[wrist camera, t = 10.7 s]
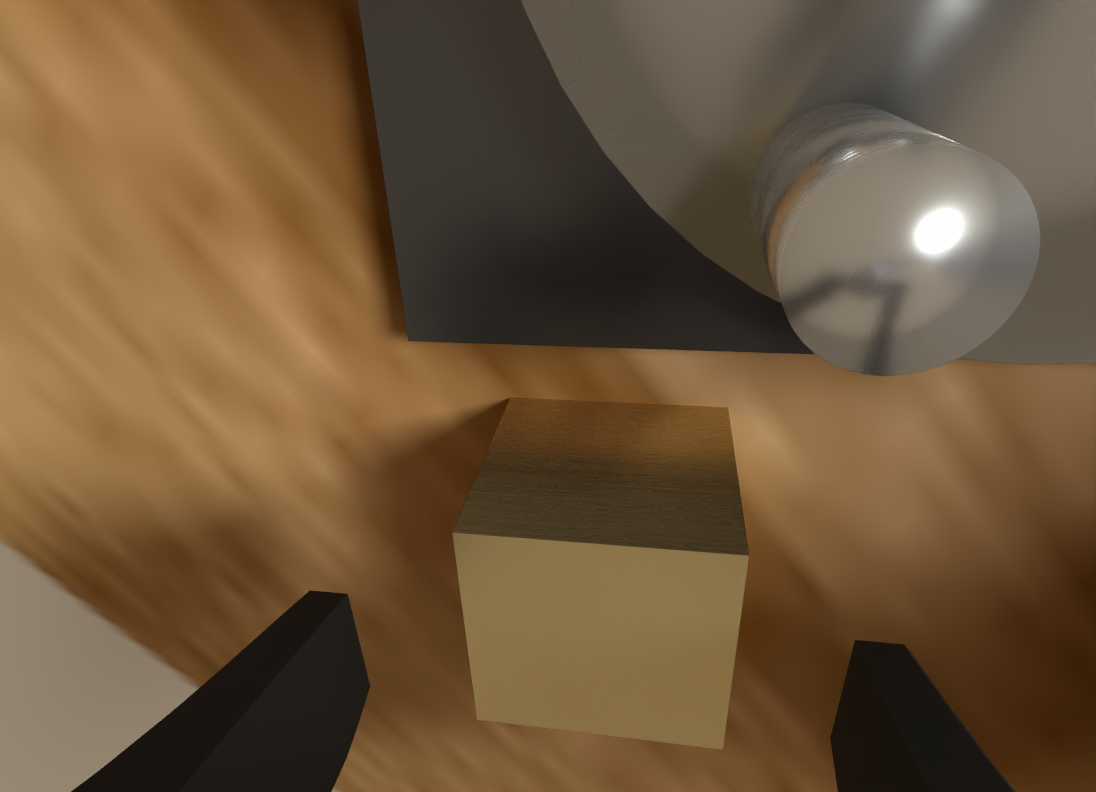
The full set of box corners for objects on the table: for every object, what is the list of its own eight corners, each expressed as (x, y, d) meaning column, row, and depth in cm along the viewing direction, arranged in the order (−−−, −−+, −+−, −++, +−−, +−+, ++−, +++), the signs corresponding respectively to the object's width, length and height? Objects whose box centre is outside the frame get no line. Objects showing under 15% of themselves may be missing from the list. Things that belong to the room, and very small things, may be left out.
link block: (727, 404, 12) (749, 556, 9) (710, 572, 14) (722, 749, 11) (511, 396, 13) (451, 532, 9) (522, 557, 15) (476, 720, 11)
